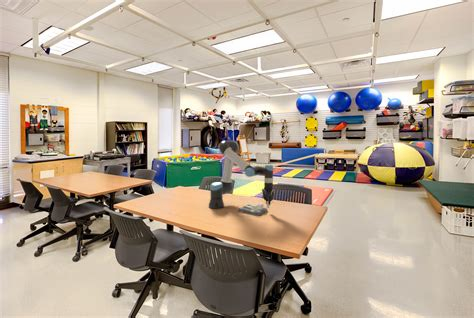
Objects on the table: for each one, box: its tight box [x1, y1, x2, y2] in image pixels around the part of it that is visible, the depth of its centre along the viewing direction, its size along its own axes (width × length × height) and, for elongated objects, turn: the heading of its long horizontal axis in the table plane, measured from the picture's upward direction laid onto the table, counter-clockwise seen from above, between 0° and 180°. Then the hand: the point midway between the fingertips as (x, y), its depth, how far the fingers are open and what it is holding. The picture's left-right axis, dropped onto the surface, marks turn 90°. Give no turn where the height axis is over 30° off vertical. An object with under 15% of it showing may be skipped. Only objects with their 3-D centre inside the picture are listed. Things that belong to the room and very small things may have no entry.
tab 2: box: [256, 202, 264, 210], centre depth 225 cm, size 4×4×5 cm
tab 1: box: [251, 204, 258, 211], centre depth 220 cm, size 4×4×5 cm
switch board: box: [237, 204, 268, 217], centre depth 226 cm, size 22×16×3 cm
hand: (268, 208), depth 220 cm, fingers closed
